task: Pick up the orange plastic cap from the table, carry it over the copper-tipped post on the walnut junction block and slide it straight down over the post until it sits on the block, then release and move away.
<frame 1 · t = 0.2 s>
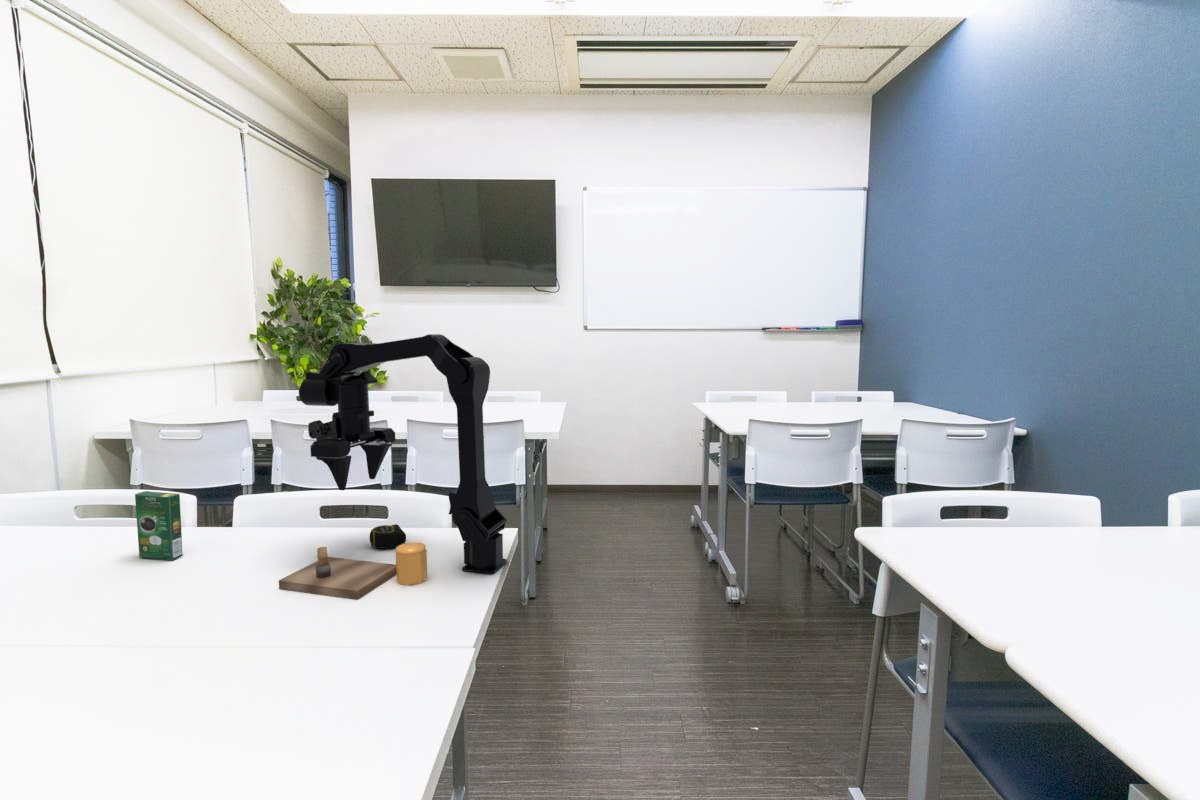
hand: (357, 484, 124), 14 cm above the table, fingers open, 9 cm apart
tape measure: (390, 545, 131), on the table
junction block: (341, 580, 112), on the table
coffee box: (162, 558, 123), on the table
cap: (412, 579, 112), on the table
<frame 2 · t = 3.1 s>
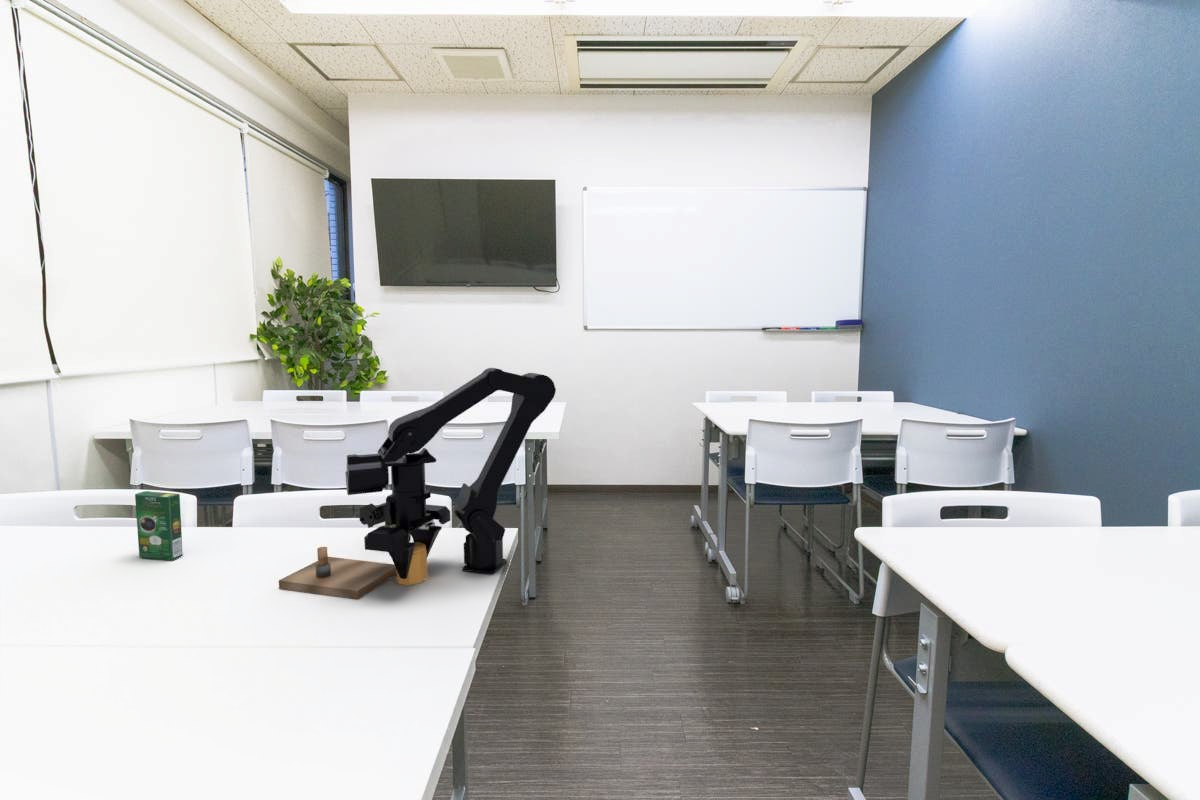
hand: (411, 572, 112), 1 cm above the table, fingers closed on cap, 5 cm apart
cap: (412, 579, 112), on the table, touching gripper
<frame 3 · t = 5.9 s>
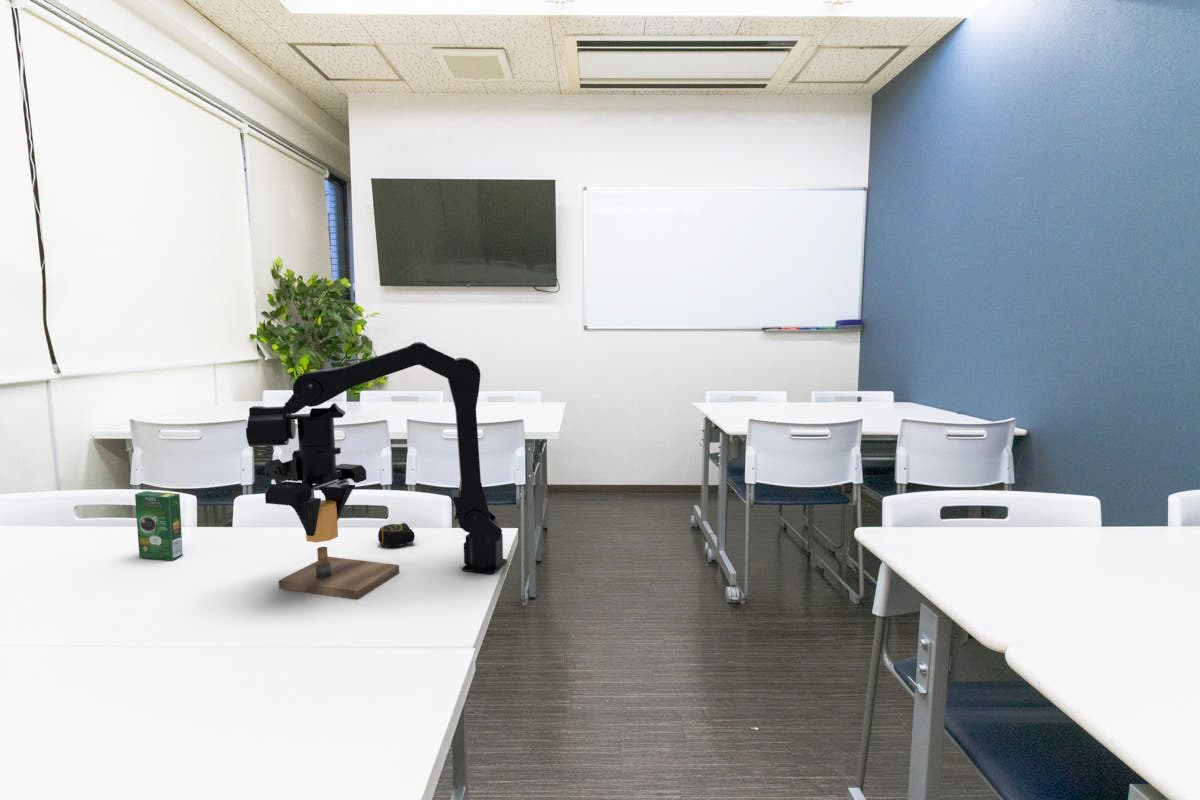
hand: (321, 530, 109), 10 cm above the table, fingers closed on cap, 5 cm apart
cap: (322, 537, 109), point 9 cm above the table, touching gripper
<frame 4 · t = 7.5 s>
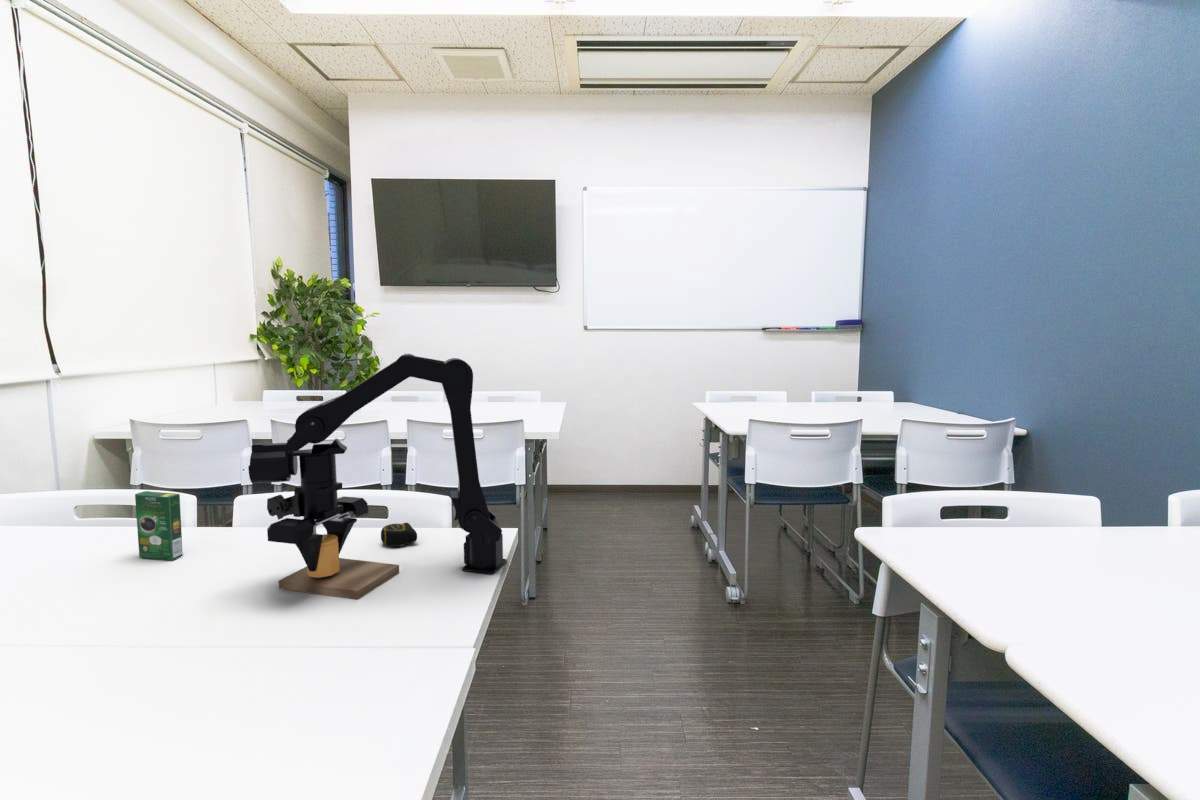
hand: (323, 565, 110), 3 cm above the table, fingers closed on cap, 5 cm apart
cap: (323, 571, 110), point 2 cm above the table, touching gripper
when the fingers open (3 cm above the table, at t = 8.6 s): cap stays where it is, resting on junction block.
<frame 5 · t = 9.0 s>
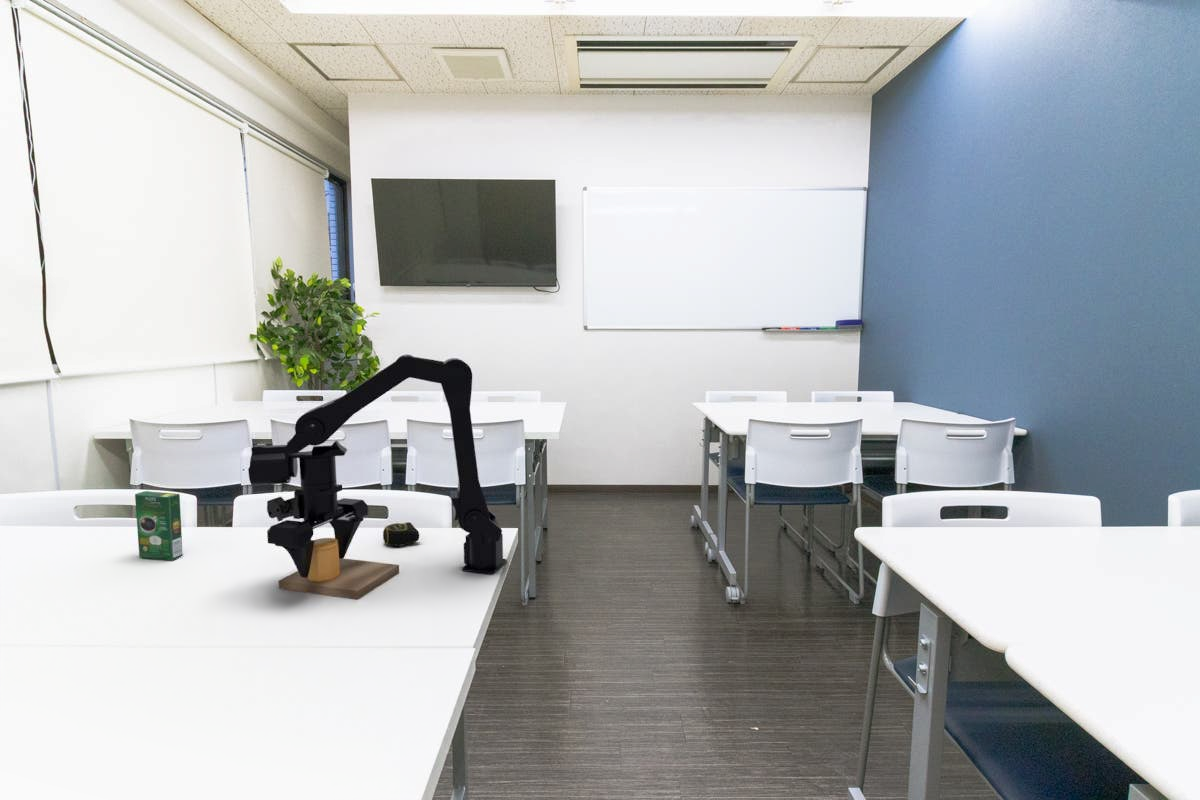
hand: (323, 567, 110), 3 cm above the table, fingers open, 9 cm apart
cap: (323, 575, 110), point 1 cm above the table, touching junction block
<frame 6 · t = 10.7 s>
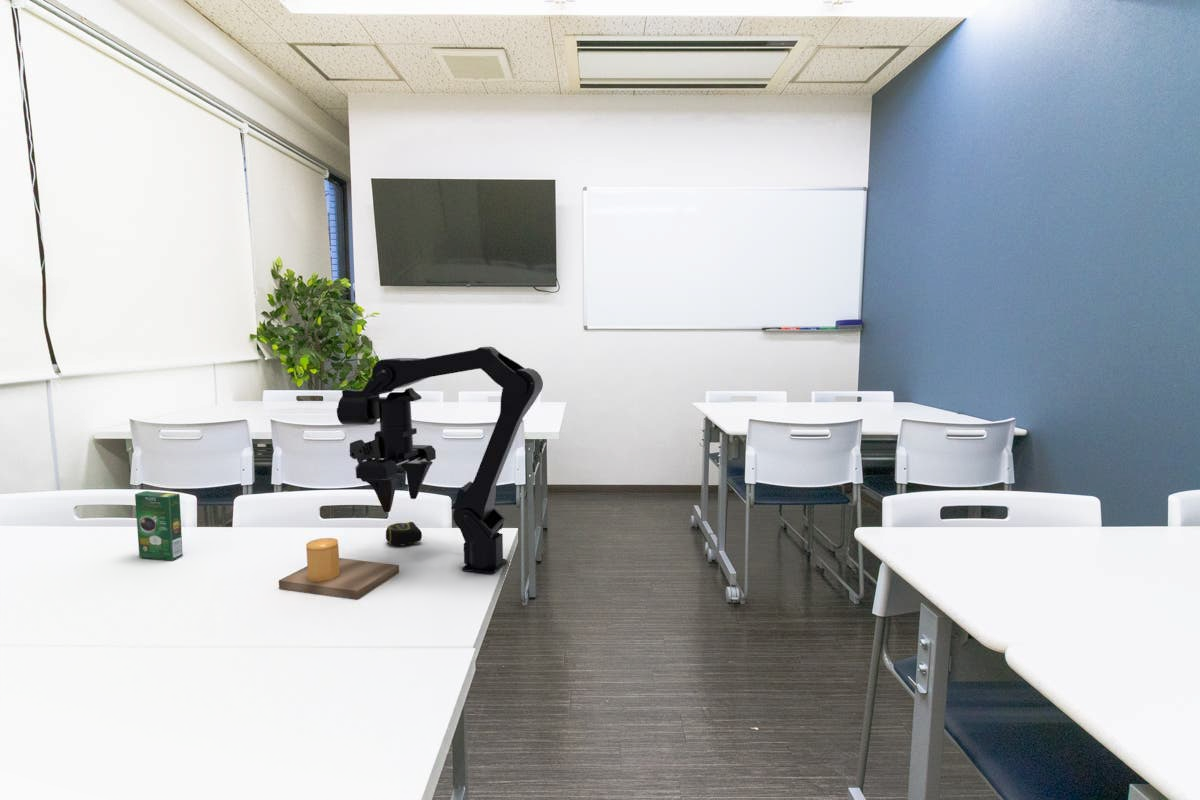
hand: (400, 505, 119), 11 cm above the table, fingers open, 9 cm apart
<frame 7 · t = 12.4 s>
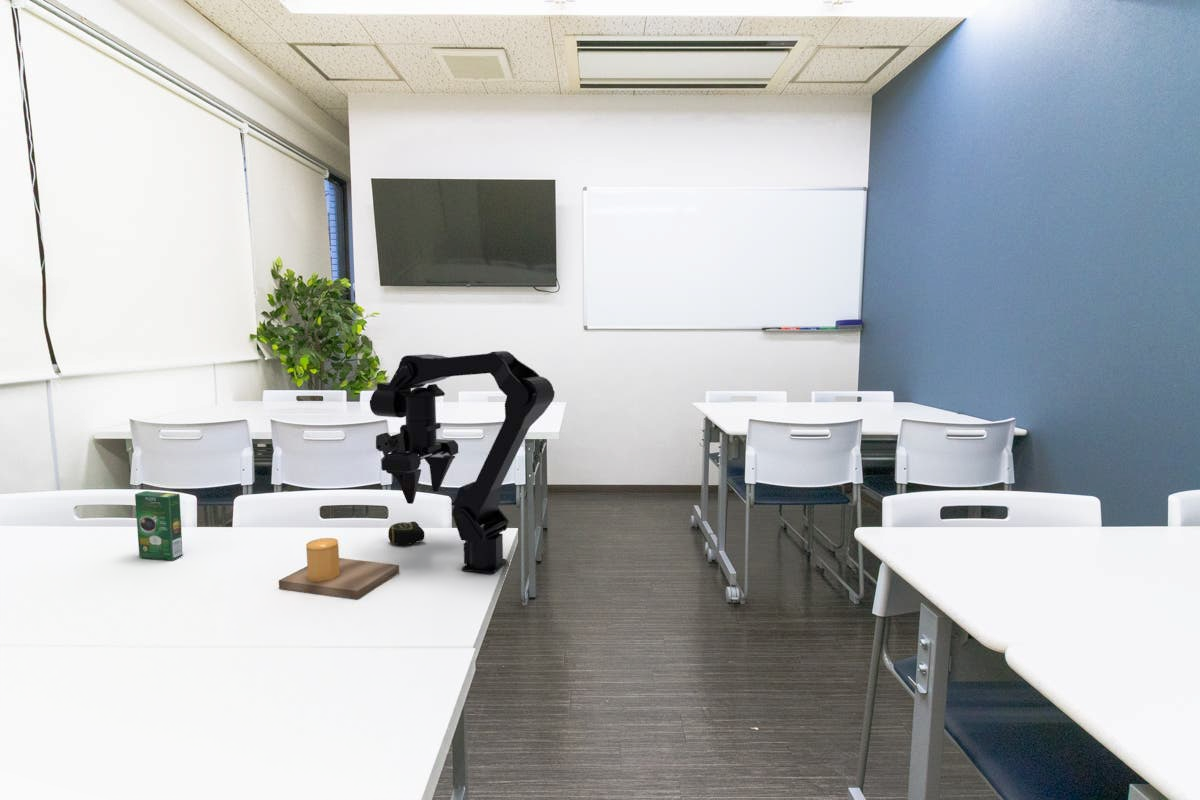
hand: (423, 497, 123), 12 cm above the table, fingers open, 9 cm apart
at the end: cap 0.0 cm from the target spot on the junction block, point 1.5 cm above the junction block's base; cap tilted 0°; the gripper is holding nothing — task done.
